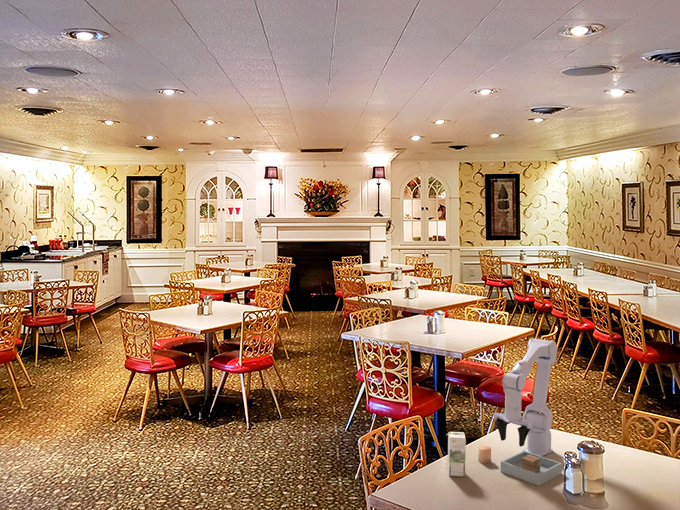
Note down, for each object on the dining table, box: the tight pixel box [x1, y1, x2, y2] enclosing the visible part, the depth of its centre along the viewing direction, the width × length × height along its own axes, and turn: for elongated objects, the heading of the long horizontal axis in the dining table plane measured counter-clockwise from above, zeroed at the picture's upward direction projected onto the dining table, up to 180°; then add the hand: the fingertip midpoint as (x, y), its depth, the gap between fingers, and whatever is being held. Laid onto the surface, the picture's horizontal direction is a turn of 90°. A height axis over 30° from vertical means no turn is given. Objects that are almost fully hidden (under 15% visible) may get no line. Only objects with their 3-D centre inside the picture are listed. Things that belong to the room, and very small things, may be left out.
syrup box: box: [447, 431, 467, 478], centre depth 215 cm, size 6×6×14 cm
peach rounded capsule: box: [477, 445, 492, 465], centre depth 226 cm, size 5×5×5 cm
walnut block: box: [522, 455, 540, 473], centre depth 216 cm, size 5×5×5 cm
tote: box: [500, 450, 563, 487], centre depth 216 cm, size 15×15×4 cm
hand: (512, 442), depth 220 cm, fingers open, 7 cm apart
